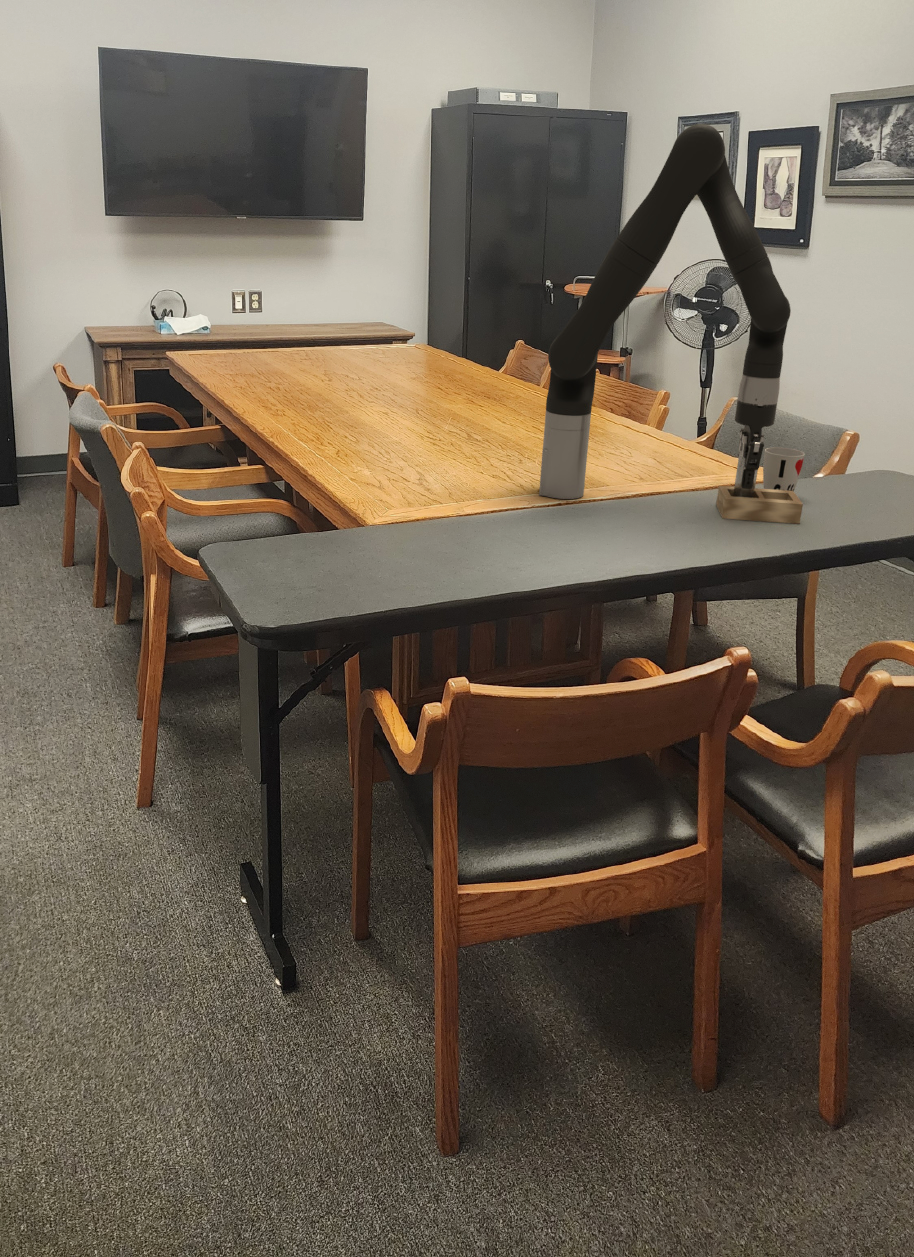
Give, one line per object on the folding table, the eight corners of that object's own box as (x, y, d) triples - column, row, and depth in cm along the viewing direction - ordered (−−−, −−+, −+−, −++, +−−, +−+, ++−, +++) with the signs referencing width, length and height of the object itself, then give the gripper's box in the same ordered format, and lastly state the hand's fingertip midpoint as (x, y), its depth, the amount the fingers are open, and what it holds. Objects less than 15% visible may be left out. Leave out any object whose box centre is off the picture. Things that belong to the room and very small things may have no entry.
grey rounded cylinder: (733, 502, 211) (741, 453, 207) (731, 497, 215) (738, 448, 211) (754, 504, 211) (761, 454, 207) (751, 498, 215) (758, 450, 211)
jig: (722, 518, 210) (725, 498, 208) (716, 504, 219) (718, 485, 217) (799, 523, 208) (803, 504, 207) (789, 509, 218) (793, 490, 216)
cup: (770, 503, 221) (778, 456, 218) (750, 493, 229) (757, 447, 225) (804, 502, 223) (812, 455, 220) (783, 492, 231) (791, 446, 227)
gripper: (732, 391, 212) (721, 475, 219) (743, 404, 199) (730, 493, 205) (770, 394, 211) (757, 477, 218) (784, 407, 198) (769, 496, 205)
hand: (744, 485), depth 212 cm, fingers closed on grey rounded cylinder, 4 cm apart
